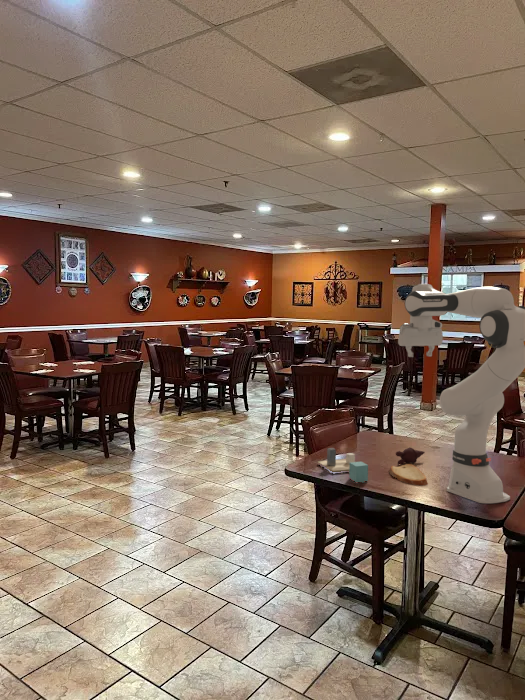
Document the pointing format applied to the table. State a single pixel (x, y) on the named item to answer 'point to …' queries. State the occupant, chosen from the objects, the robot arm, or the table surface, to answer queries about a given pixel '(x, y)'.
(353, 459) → the short post
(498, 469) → the table surface
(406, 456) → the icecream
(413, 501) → the table surface
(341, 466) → the board
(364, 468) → the teal rectangular block
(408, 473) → the bread slice
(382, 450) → the table surface
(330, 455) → the tall post
